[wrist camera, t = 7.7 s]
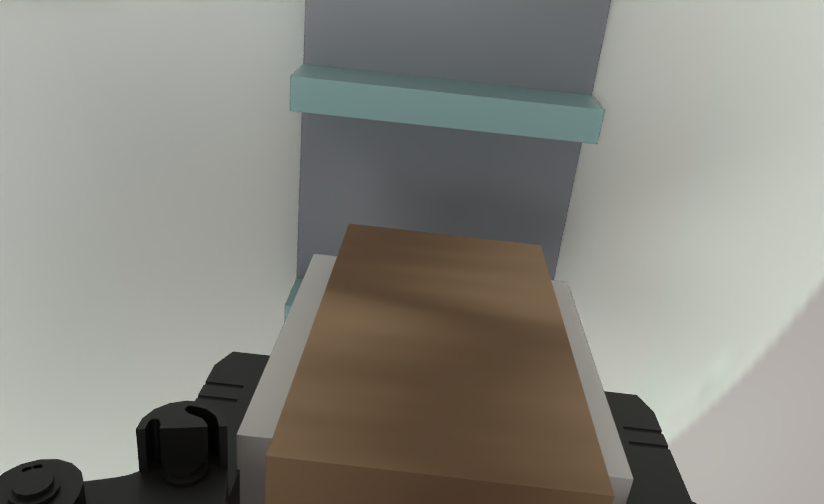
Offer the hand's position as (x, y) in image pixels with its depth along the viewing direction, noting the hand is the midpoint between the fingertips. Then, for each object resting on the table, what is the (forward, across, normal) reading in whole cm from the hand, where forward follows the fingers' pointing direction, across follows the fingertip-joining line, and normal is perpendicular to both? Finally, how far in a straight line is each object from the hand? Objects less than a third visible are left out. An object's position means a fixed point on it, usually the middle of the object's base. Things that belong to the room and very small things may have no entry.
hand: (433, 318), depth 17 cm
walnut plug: (0, 0, 0) cm, 0 cm away
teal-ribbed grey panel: (+8, 0, +4) cm, 9 cm away
